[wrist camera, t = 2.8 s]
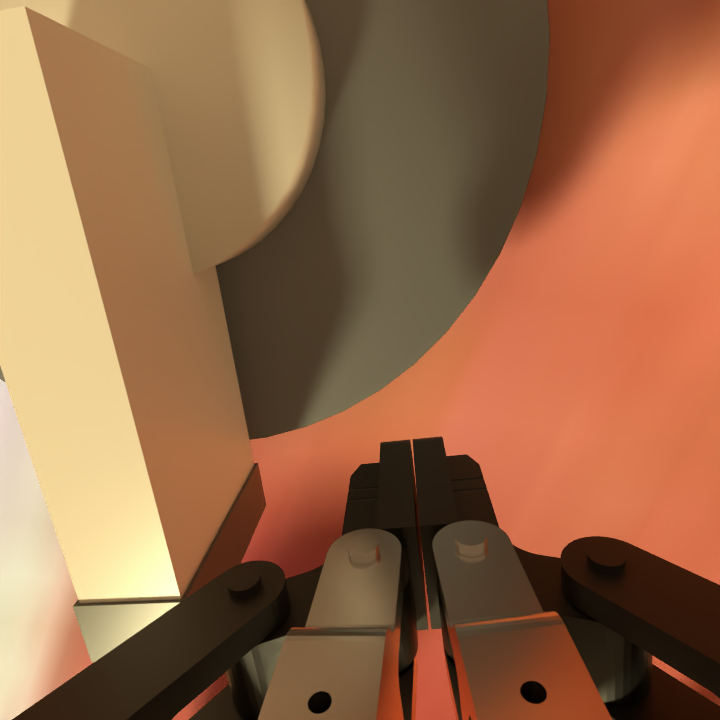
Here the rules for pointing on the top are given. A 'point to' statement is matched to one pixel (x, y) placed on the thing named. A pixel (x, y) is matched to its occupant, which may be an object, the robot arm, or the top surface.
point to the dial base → (389, 201)
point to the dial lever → (142, 273)
